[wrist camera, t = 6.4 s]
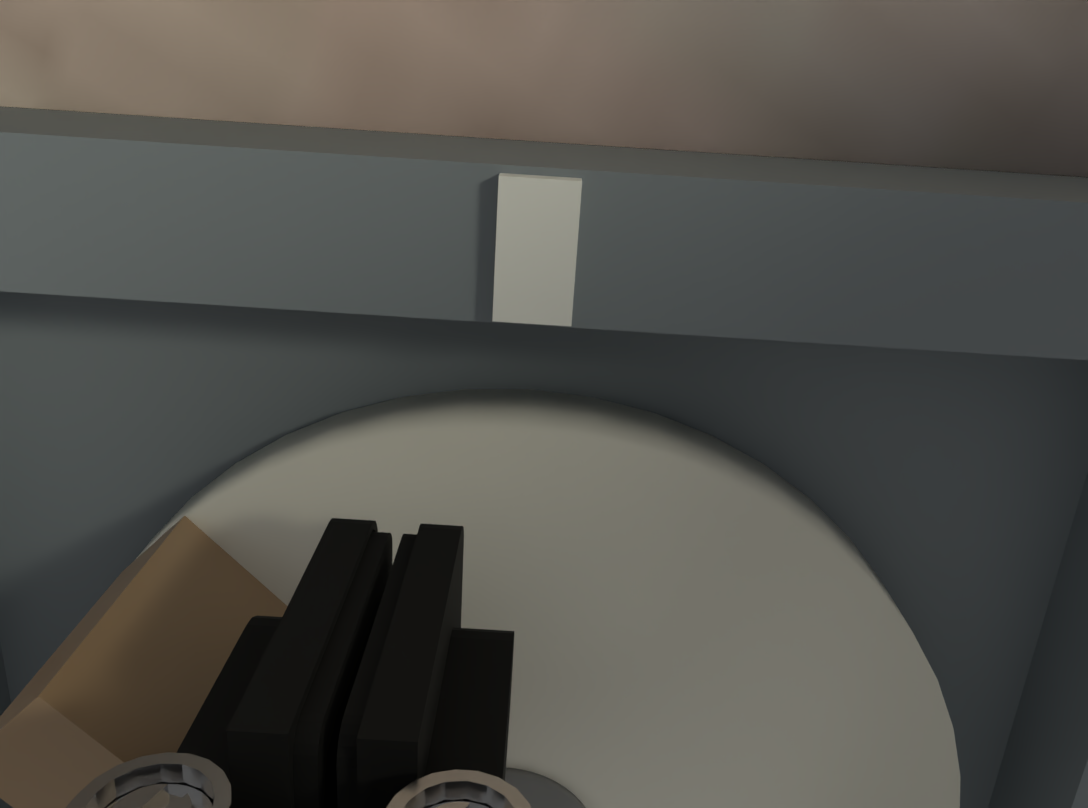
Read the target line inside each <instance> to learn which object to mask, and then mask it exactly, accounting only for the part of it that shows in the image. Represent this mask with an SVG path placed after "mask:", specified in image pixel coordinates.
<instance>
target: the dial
mask: <svg viewBox="0 0 1088 808" xmlns="http://www.w3.org/2000/svg"><path fill="white" fill-rule="evenodd" d="M332 518H340V519H357V520H373V521H376V523H377V528H378V532H386V533H391V535H392V565H393V562H394V559H395V556H396V553H397V550H398V547H399V544H400V541H401V538H402V535H403V534H417V533H418V530H419V526H420V524H438V525H454V526H463V527H464V551H463V580H462V609H461V628H472V629H488V630H504V631H514V651H513V668H512V685H511V701H510V717H509V732H508V746H507V760H506V773H505V782H507V783H509V784H510V785H512V786H513V787H515V788H517V789H518V791H519V792H520V793H521V794H522V795H523V797H524V798H525V799H526V800H527V801H528V802H529V804H530V806H531V808H960V770H959V763H958V756H957V749H956V742H955V735H954V728H953V725H952V722H951V719H950V716H949V713H948V710H947V707H946V704H945V701H944V698H943V695H942V692H941V689H940V685H939V682H938V680H937V678H936V676H935V674H934V672H933V670H932V668H931V666H930V664H929V662H928V660H927V658H926V657H925V655H924V653H923V651H922V649H921V647H920V645H919V643H918V641H917V639H916V637H915V636H914V634H913V632H912V630H911V629H910V627H909V625H908V624H907V622H906V620H905V619H904V617H903V616H902V614H901V612H900V611H899V609H898V607H897V606H896V604H895V603H894V601H893V599H892V598H891V596H890V595H889V593H888V591H887V590H886V588H885V586H884V585H883V583H882V582H881V580H880V578H879V577H878V576H877V574H876V573H875V572H874V570H873V569H872V568H871V566H870V565H869V564H868V562H867V561H866V560H865V558H864V557H863V556H862V554H861V553H860V552H859V550H858V549H857V548H856V546H855V545H854V544H853V542H852V541H851V539H850V538H849V537H848V536H847V535H846V534H845V533H844V532H843V531H842V530H841V529H840V528H839V527H838V526H837V525H836V524H835V523H834V522H833V521H832V520H831V519H830V518H829V517H828V516H827V515H826V514H825V513H824V512H823V511H822V510H821V509H820V508H819V507H818V506H817V505H816V504H815V503H814V502H813V501H812V500H811V499H810V498H808V497H807V496H806V495H804V494H803V493H802V492H800V491H799V490H798V489H796V488H795V487H794V486H792V485H791V484H790V483H788V482H787V481H786V480H784V479H783V478H782V477H780V476H779V475H778V474H776V473H775V472H774V471H772V470H771V469H769V468H768V467H767V466H765V465H764V464H762V463H761V462H759V461H757V460H755V459H753V458H752V457H750V456H748V455H746V454H744V453H742V452H741V451H739V450H737V449H735V448H733V447H732V446H730V445H728V444H726V443H724V442H723V441H721V440H719V439H717V438H715V437H713V436H712V435H709V434H707V433H704V432H702V431H699V430H696V429H694V428H691V427H689V426H686V425H684V424H681V423H679V422H676V421H674V420H671V419H668V418H666V417H663V416H661V415H658V414H656V413H653V412H649V411H645V410H641V409H637V408H633V407H629V406H625V405H621V404H617V403H613V402H609V401H605V400H601V399H597V398H593V397H586V396H578V395H570V394H562V393H554V392H546V391H538V390H530V389H463V390H455V391H447V392H439V393H431V394H423V395H415V396H407V397H400V398H396V399H393V400H389V401H385V402H381V403H377V404H373V405H369V406H365V407H361V408H357V409H354V410H350V411H346V412H342V413H339V414H337V415H334V416H332V417H329V418H327V419H324V420H322V421H319V422H317V423H314V424H312V425H309V426H307V427H304V428H302V429H299V430H297V431H294V432H292V433H289V434H287V435H285V436H283V437H281V438H279V439H278V440H276V441H274V442H272V443H271V444H269V445H267V446H265V447H263V448H262V449H260V450H258V451H256V452H255V453H253V454H251V455H249V456H248V457H246V458H244V459H242V460H241V461H239V462H237V463H235V464H234V465H233V466H231V467H230V468H229V469H228V470H226V471H225V472H224V473H222V474H221V475H220V476H219V477H217V478H216V479H215V480H213V481H212V482H211V483H210V484H208V485H207V486H206V487H204V488H203V489H202V490H201V491H199V492H198V493H197V494H195V495H194V496H193V497H191V499H190V500H189V501H188V502H187V503H186V504H185V505H184V506H183V507H182V508H181V509H180V510H179V511H178V512H177V513H176V514H175V515H174V516H173V517H172V518H171V520H170V521H169V522H168V523H167V524H166V525H165V526H164V527H163V528H162V529H161V530H160V531H159V532H158V533H157V534H156V535H155V536H154V538H153V539H152V540H151V541H150V542H149V544H148V545H147V546H146V547H145V548H144V550H143V551H142V552H141V553H140V554H139V556H138V557H137V558H136V559H135V560H134V561H133V562H132V563H131V564H130V565H129V566H128V567H127V568H126V569H125V570H123V571H122V572H121V574H120V575H119V576H118V577H117V578H116V580H115V581H114V582H113V583H112V584H111V586H110V587H109V588H108V589H107V590H106V591H105V593H104V594H103V595H102V596H101V597H100V599H99V600H98V601H97V602H96V603H95V605H94V606H93V607H92V608H91V609H90V610H89V612H88V613H87V614H86V615H85V616H84V618H83V619H82V620H81V621H80V622H79V624H78V625H77V626H76V627H75V628H74V629H73V631H72V632H71V633H70V634H69V635H68V637H67V638H66V639H65V640H64V641H63V643H62V644H61V645H60V646H59V647H58V648H57V650H56V651H55V652H54V653H53V654H52V656H51V657H50V658H49V659H48V660H47V661H46V663H45V664H44V665H43V666H42V667H41V669H40V670H39V671H38V672H37V673H36V675H35V676H34V677H33V678H32V679H31V680H30V682H29V683H28V684H27V685H26V686H25V688H24V689H23V690H22V691H21V692H20V694H19V695H18V696H17V697H16V698H15V699H14V701H13V702H12V703H11V704H10V705H9V707H8V708H7V709H6V710H5V711H4V713H3V714H2V715H1V716H0V798H1V799H2V800H4V801H5V802H6V803H8V804H9V805H10V806H12V807H13V808H66V807H67V805H68V804H69V803H70V802H71V801H72V800H73V798H74V797H75V796H76V795H77V794H78V793H79V792H80V791H81V790H82V789H84V788H85V787H86V786H87V785H88V784H89V783H90V782H91V781H92V780H93V779H95V778H96V777H98V776H99V775H101V774H103V773H105V772H106V771H108V770H110V769H111V768H113V767H115V766H117V765H119V764H122V763H124V762H127V761H130V760H133V759H136V758H138V757H141V756H146V755H153V754H159V753H166V752H170V753H176V752H177V750H178V749H179V747H180V745H181V743H182V741H183V740H184V738H185V736H186V734H187V732H188V730H189V729H190V727H191V725H192V723H193V721H194V719H195V718H196V716H197V714H198V712H199V710H200V709H201V707H202V705H203V703H204V701H205V699H206V698H207V696H208V694H209V692H210V690H211V689H212V687H213V685H214V683H215V681H216V679H217V678H218V676H219V674H220V672H221V670H222V668H223V667H224V665H225V663H226V661H227V659H228V658H229V656H230V654H231V652H232V650H233V648H234V647H235V645H236V643H237V641H238V639H239V637H240V636H241V634H242V632H243V630H244V628H245V627H246V625H247V623H248V622H249V621H250V619H251V618H252V617H254V616H257V615H258V616H274V617H283V615H284V613H285V610H286V608H287V606H288V604H289V602H290V600H291V598H292V596H293V594H294V592H295V590H296V588H297V586H298V584H299V582H300V580H301V578H302V576H303V574H304V572H305V570H306V568H307V566H308V564H309V562H310V560H311V558H312V556H313V554H314V552H315V550H316V548H317V546H318V544H319V541H320V539H321V537H322V535H323V533H324V531H325V529H326V527H327V525H328V523H329V521H330V520H331V519H332Z"/></svg>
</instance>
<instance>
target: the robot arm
mask: <svg viewBox="0 0 1088 808" xmlns="http://www.w3.org/2000/svg"><path fill="white" fill-rule="evenodd" d="M463 551H464V527H463V526H454V525H438V524H420V526H419V530H418V533H417V534H403V535H402V538H401V541H400V544H399V547H398V550H397V553H396V556H395V559H394V562H393V565H392V535H391V533H386V532H378V528H377V523H376V521H373V520H357V519H340V518H332V519H331V520H330V521H329V523H328V525H327V527H326V529H325V531H324V533H323V535H322V537H321V539H320V541H319V544H318V546H317V548H316V550H315V552H314V554H313V556H312V558H311V560H310V562H309V564H308V566H307V568H306V570H305V572H304V574H303V576H302V578H301V580H300V582H299V584H298V586H297V588H296V590H295V592H294V594H293V596H292V598H291V600H290V602H289V604H288V606H287V608H286V610H285V613H284V615H283V617H274V616H258V615H257V616H254V617H252V618H251V619H250V621H249V622H248V623H247V625H246V627H245V628H244V630H243V632H242V634H241V636H240V637H239V639H238V641H237V643H236V645H235V647H234V648H233V650H232V652H231V654H230V656H229V658H228V659H227V661H226V663H225V665H224V667H223V668H222V670H221V672H220V674H219V676H218V678H217V679H216V681H215V683H214V685H213V687H212V689H211V690H210V692H209V694H208V696H207V698H206V699H205V701H204V703H203V705H202V707H201V709H200V710H199V712H198V714H197V716H196V718H195V719H194V721H193V723H192V725H191V727H190V729H189V730H188V732H187V734H186V736H185V738H184V740H183V741H182V743H181V745H180V747H179V749H178V750H177V752H176V753H170V752H166V753H159V754H153V755H146V756H141V757H138V758H136V759H133V760H130V761H127V762H124V763H122V764H119V765H117V766H115V767H113V768H111V769H110V770H108V771H106V772H105V773H103V774H101V775H99V776H98V777H96V778H95V779H93V780H92V781H91V782H90V783H89V784H88V785H87V786H86V787H85V788H84V789H82V790H81V791H80V792H79V793H78V794H77V795H76V796H75V797H74V798H73V800H72V801H71V802H70V803H69V804H68V805H67V807H66V808H531V806H530V804H529V802H528V801H527V800H526V799H525V798H524V797H523V795H522V794H521V793H520V792H519V791H518V789H517V788H515V787H513V786H512V785H510V784H509V783H507V782H505V773H506V760H507V746H508V732H509V717H510V701H511V685H512V668H513V651H514V631H504V630H488V629H472V628H461V609H462V580H463Z"/></svg>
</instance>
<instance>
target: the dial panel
mask: <svg viewBox="0 0 1088 808" xmlns="http://www.w3.org/2000/svg"><path fill="white" fill-rule="evenodd" d="M463 389H530V390H538V391H546V392H554V393H562V394H570V395H578V396H586V397H593V398H597V399H601V400H605V401H609V402H613V403H617V404H621V405H625V406H629V407H633V408H637V409H641V410H645V411H649V412H653V413H656V414H658V415H661V416H663V417H666V418H668V419H671V420H674V421H676V422H679V423H681V424H684V425H686V426H689V427H691V428H694V429H696V430H699V431H702V432H704V433H707V434H709V435H712V436H713V437H715V438H717V439H719V440H721V441H723V442H724V443H726V444H728V445H730V446H732V447H733V448H735V449H737V450H739V451H741V452H742V453H744V454H746V455H748V456H750V457H752V458H753V459H755V460H757V461H759V462H761V463H762V464H764V465H765V466H767V467H768V468H769V469H771V470H772V471H774V472H775V473H776V474H778V475H779V476H780V477H782V478H783V479H784V480H786V481H787V482H788V483H790V484H791V485H792V486H794V487H795V488H796V489H798V490H799V491H800V492H802V493H803V494H804V495H806V496H807V497H808V498H810V499H811V500H812V501H813V502H814V503H815V504H816V505H817V506H818V507H819V508H820V509H821V510H822V511H823V512H824V513H825V514H826V515H827V516H828V517H829V518H830V519H831V520H832V521H833V522H834V523H835V524H836V525H837V526H838V527H839V528H840V529H841V530H842V531H843V532H844V533H845V534H846V535H847V536H848V537H849V538H850V539H851V541H852V542H853V544H854V545H855V546H856V548H857V549H858V550H859V552H860V553H861V554H862V556H863V557H864V558H865V560H866V561H867V562H868V564H869V565H870V566H871V568H872V569H873V570H874V572H875V573H876V574H877V576H878V577H879V578H880V580H881V582H882V583H883V585H884V586H885V588H886V590H887V591H888V593H889V595H890V596H891V598H892V599H893V601H894V603H895V604H896V606H897V607H898V609H899V611H900V612H901V614H902V616H903V617H904V619H905V620H906V622H907V624H908V625H909V627H910V629H911V630H912V632H913V634H914V636H915V637H916V639H917V641H918V643H919V645H920V647H921V649H922V651H923V653H924V655H925V657H926V658H927V660H928V662H929V664H930V666H931V668H932V670H933V672H934V674H935V676H936V678H937V680H938V682H939V685H940V689H941V692H942V695H943V698H944V701H945V704H946V707H947V710H948V713H949V716H950V719H951V722H952V725H953V728H954V735H955V742H956V749H957V756H958V763H959V770H960V808H1088V178H1087V177H1072V176H1056V175H1041V174H1026V173H1010V172H995V171H980V170H964V169H949V168H934V167H918V166H903V165H888V164H872V163H857V162H842V161H826V160H811V159H796V158H780V157H765V156H750V155H734V154H719V153H704V152H688V151H673V150H658V149H642V148H627V147H612V146H597V145H581V144H566V143H551V142H535V141H520V140H505V139H489V138H474V137H459V136H443V135H428V134H413V133H397V132H382V131H367V130H351V129H336V128H321V127H305V126H290V125H275V124H259V123H244V122H229V121H213V120H198V119H183V118H168V117H152V116H137V115H122V114H106V113H91V112H76V111H60V110H45V109H30V108H14V107H0V716H1V715H2V714H3V713H4V711H5V710H6V709H7V708H8V707H9V705H10V704H11V703H12V702H13V701H14V699H15V698H16V697H17V696H18V695H19V694H20V692H21V691H22V690H23V689H24V688H25V686H26V685H27V684H28V683H29V682H30V680H31V679H32V678H33V677H34V676H35V675H36V673H37V672H38V671H39V670H40V669H41V667H42V666H43V665H44V664H45V663H46V661H47V660H48V659H49V658H50V657H51V656H52V654H53V653H54V652H55V651H56V650H57V648H58V647H59V646H60V645H61V644H62V643H63V641H64V640H65V639H66V638H67V637H68V635H69V634H70V633H71V632H72V631H73V629H74V628H75V627H76V626H77V625H78V624H79V622H80V621H81V620H82V619H83V618H84V616H85V615H86V614H87V613H88V612H89V610H90V609H91V608H92V607H93V606H94V605H95V603H96V602H97V601H98V600H99V599H100V597H101V596H102V595H103V594H104V593H105V591H106V590H107V589H108V588H109V587H110V586H111V584H112V583H113V582H114V581H115V580H116V578H117V577H118V576H119V575H120V574H121V572H122V571H123V570H125V569H126V568H127V567H128V566H129V565H130V564H131V563H132V562H133V561H134V560H135V559H136V558H137V557H138V556H139V554H140V553H141V552H142V551H143V550H144V548H145V547H146V546H147V545H148V544H149V542H150V541H151V540H152V539H153V538H154V536H155V535H156V534H157V533H158V532H159V531H160V530H161V529H162V528H163V527H164V526H165V525H166V524H167V523H168V522H169V521H170V520H171V518H172V517H173V516H174V515H175V514H176V513H177V512H178V511H179V510H180V509H181V508H182V507H183V506H184V505H185V504H186V503H187V502H188V501H189V500H190V499H191V497H193V496H194V495H195V494H197V493H198V492H199V491H201V490H202V489H203V488H204V487H206V486H207V485H208V484H210V483H211V482H212V481H213V480H215V479H216V478H217V477H219V476H220V475H221V474H222V473H224V472H225V471H226V470H228V469H229V468H230V467H231V466H233V465H234V464H235V463H237V462H239V461H241V460H242V459H244V458H246V457H248V456H249V455H251V454H253V453H255V452H256V451H258V450H260V449H262V448H263V447H265V446H267V445H269V444H271V443H272V442H274V441H276V440H278V439H279V438H281V437H283V436H285V435H287V434H289V433H292V432H294V431H297V430H299V429H302V428H304V427H307V426H309V425H312V424H314V423H317V422H319V421H322V420H324V419H327V418H329V417H332V416H334V415H337V414H339V413H342V412H346V411H350V410H354V409H357V408H361V407H365V406H369V405H373V404H377V403H381V402H385V401H389V400H393V399H396V398H400V397H407V396H415V395H423V394H431V393H439V392H447V391H455V390H463ZM0 808H13V807H12V806H10V805H9V804H8V803H6V802H5V801H4V800H2V799H1V798H0Z"/></svg>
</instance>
